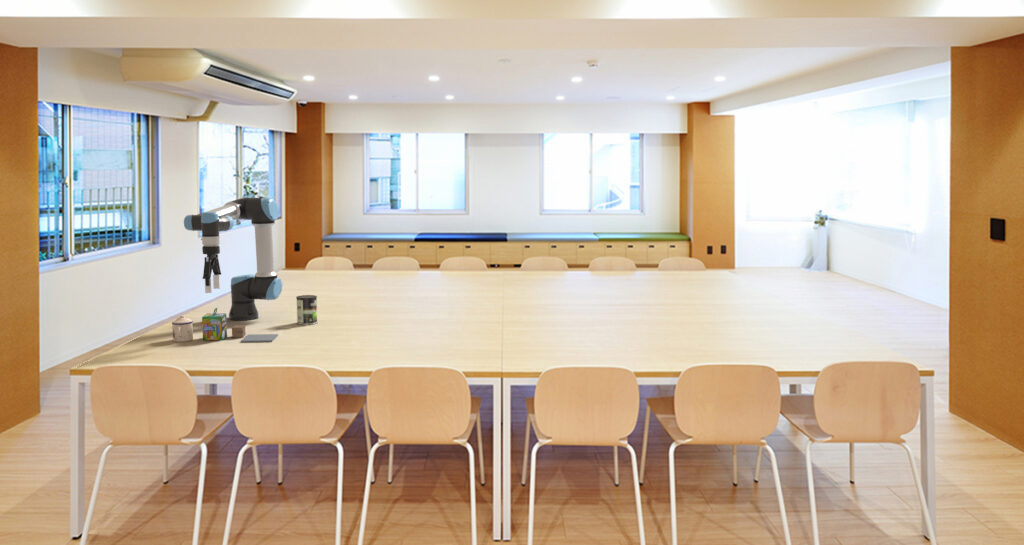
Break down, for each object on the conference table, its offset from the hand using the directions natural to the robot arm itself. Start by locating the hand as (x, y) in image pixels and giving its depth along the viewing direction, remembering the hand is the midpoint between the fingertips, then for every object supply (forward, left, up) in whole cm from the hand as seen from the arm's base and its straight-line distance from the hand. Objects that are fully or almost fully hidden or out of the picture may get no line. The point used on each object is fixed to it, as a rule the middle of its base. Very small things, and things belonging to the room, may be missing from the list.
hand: (212, 290), depth 367 cm
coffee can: (-36, +37, -23) cm, 57 cm away
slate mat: (+2, +21, -23) cm, 31 cm away
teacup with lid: (+3, -14, -23) cm, 27 cm away
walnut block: (-4, +10, -23) cm, 26 cm away
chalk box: (0, 0, -23) cm, 23 cm away
